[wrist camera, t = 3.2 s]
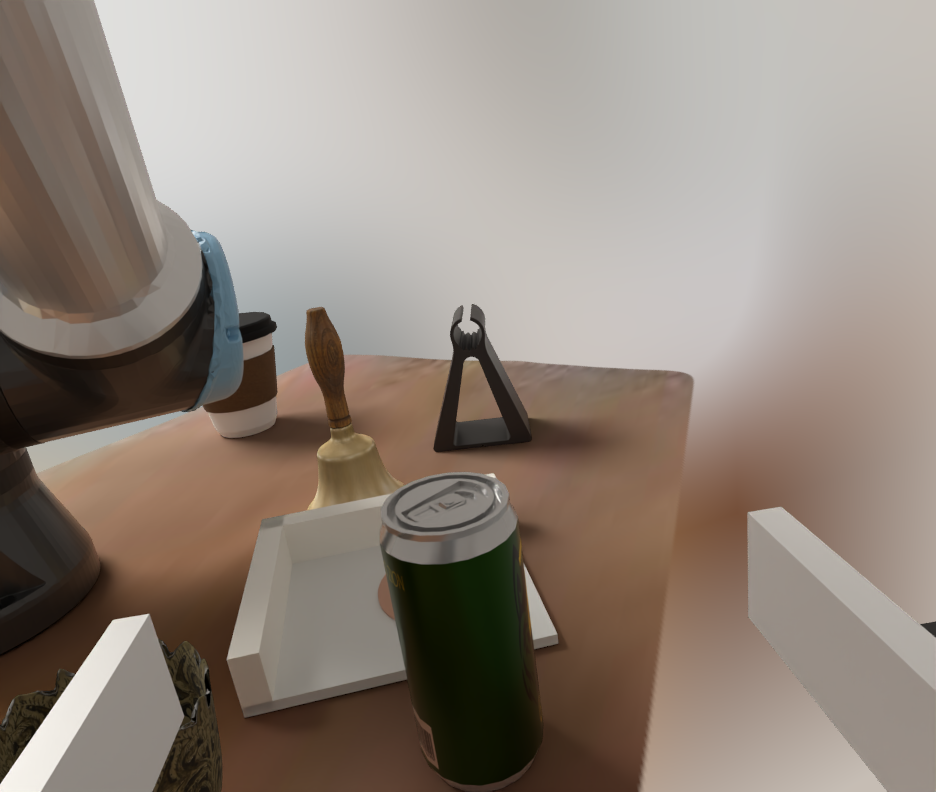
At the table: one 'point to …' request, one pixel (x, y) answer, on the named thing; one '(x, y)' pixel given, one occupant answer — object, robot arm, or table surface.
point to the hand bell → (341, 426)
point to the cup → (195, 746)
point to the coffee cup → (250, 383)
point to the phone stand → (513, 412)
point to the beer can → (464, 627)
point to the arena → (324, 610)
